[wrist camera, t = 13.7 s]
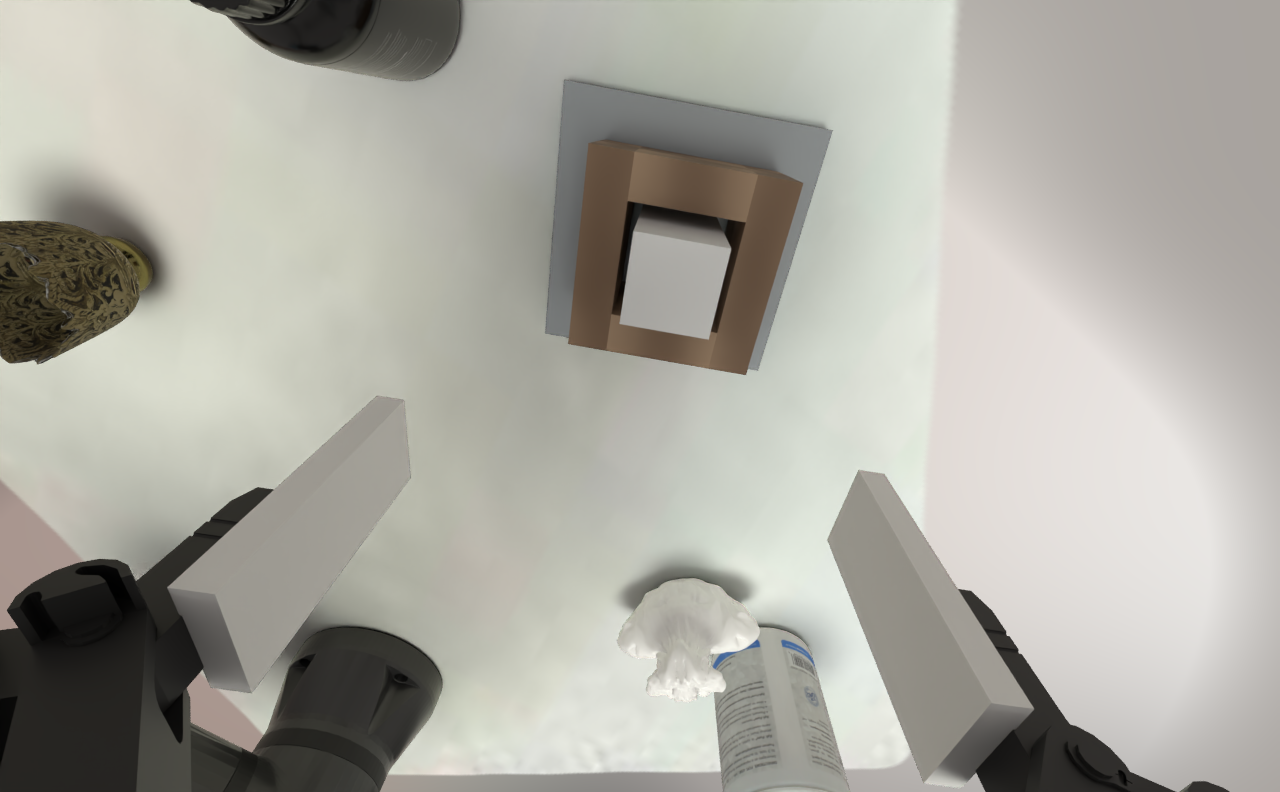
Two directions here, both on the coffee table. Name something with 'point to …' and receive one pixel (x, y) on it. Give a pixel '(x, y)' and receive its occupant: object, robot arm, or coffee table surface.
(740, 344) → the collar
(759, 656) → the supplement tub
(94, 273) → the cup
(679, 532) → the coffee table surface
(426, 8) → the supplement bottle
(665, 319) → the post block
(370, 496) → the robot arm
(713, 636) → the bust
